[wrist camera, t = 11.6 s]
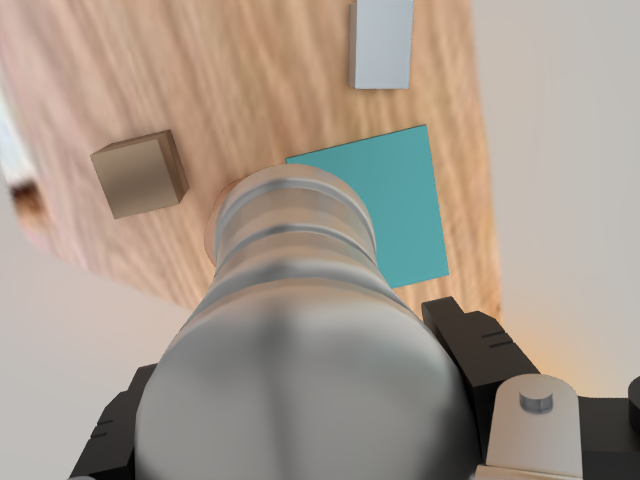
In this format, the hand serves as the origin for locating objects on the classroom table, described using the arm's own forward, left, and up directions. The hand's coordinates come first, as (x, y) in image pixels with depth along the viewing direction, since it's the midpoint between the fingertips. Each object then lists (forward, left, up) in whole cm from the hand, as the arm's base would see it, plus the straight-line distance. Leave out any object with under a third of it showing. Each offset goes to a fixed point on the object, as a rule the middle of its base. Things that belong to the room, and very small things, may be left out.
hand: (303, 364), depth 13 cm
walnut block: (-1, -11, -32) cm, 34 cm away
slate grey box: (-6, +9, -33) cm, 34 cm away
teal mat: (+8, +6, -32) cm, 34 cm away
